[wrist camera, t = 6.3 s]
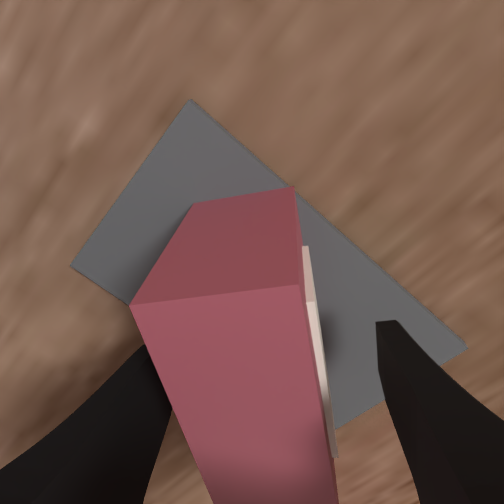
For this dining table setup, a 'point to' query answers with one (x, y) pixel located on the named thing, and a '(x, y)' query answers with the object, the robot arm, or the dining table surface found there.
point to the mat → (313, 235)
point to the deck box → (244, 350)
